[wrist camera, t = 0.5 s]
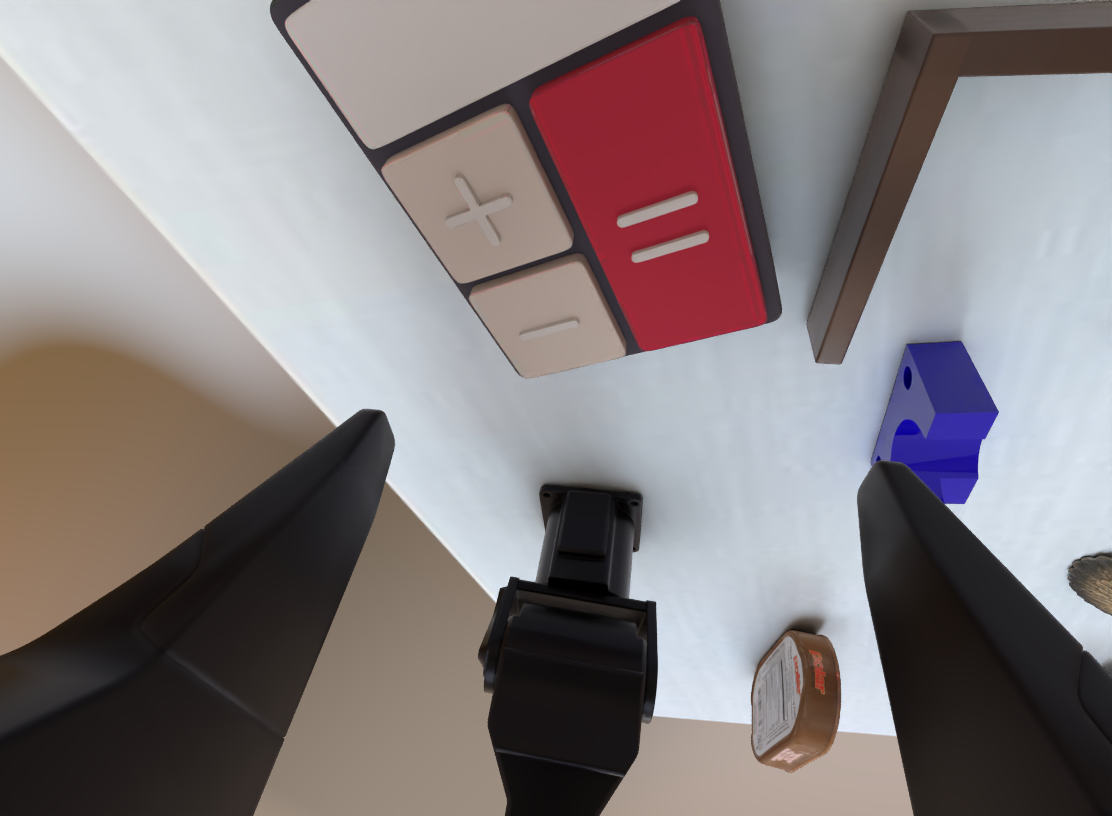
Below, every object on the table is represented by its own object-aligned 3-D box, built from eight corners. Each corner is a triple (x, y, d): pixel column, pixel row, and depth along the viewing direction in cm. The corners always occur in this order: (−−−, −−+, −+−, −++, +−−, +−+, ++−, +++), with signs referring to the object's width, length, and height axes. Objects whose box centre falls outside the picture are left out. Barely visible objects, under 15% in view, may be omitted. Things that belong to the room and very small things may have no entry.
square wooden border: (1163, 339, 21) (1204, 384, 19) (805, 324, 23) (814, 364, 22) (1496, -17, 13) (1614, 7, 11) (907, 10, 15) (933, 33, 14)
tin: (775, 680, 52) (785, 784, 47) (741, 674, 53) (747, 777, 47) (834, 616, 41) (857, 743, 36) (791, 609, 42) (807, 733, 36)
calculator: (517, 394, 24) (244, 16, 14) (534, 328, 27) (315, -26, 17) (787, 335, 19) (661, -281, 10) (773, 264, 22) (664, -271, 12)
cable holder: (947, 462, 28) (975, 531, 25) (870, 462, 29) (889, 529, 26) (1004, 339, 22) (1048, 410, 19) (906, 344, 23) (935, 413, 20)
